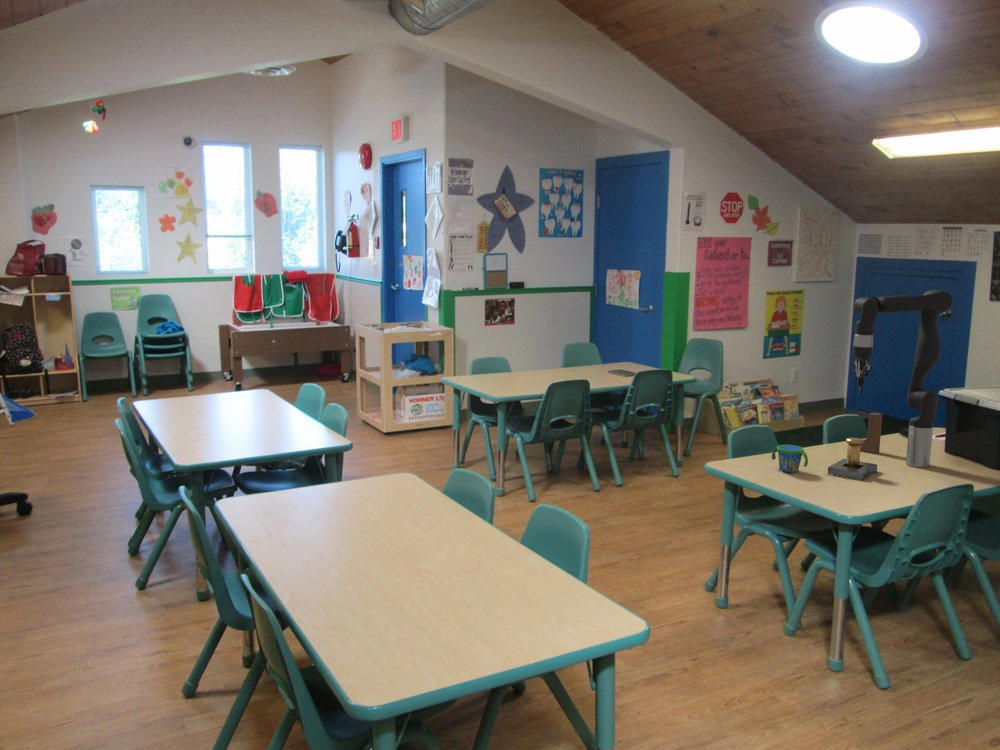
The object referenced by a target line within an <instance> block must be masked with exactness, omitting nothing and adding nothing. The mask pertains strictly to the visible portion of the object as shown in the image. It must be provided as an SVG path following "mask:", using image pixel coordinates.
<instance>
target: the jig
mask: <svg viewBox="0 0 1000 750" xmlns="http://www.w3.org/2000/svg"><path fill="white" fill-rule="evenodd" d="M846 462H847V458H842V459H840V460H839V461H837V462H835V463H833V464H831V465H830V466H827V467H828V468H827V475H829V474H833V475H832V476H835V475H838V476H837V477H840V476H844V477H843V478H846V477H848V478H847V479H851V478H853V479H852V480H856V479H857V481H862V480H863V481H864V480H867V478H869V477H870V476H872V475H874V474H875V473H877V472H878V464H877V463H871V462H865V461H860V463H859V469H855V468H850V467H846Z"/></svg>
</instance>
